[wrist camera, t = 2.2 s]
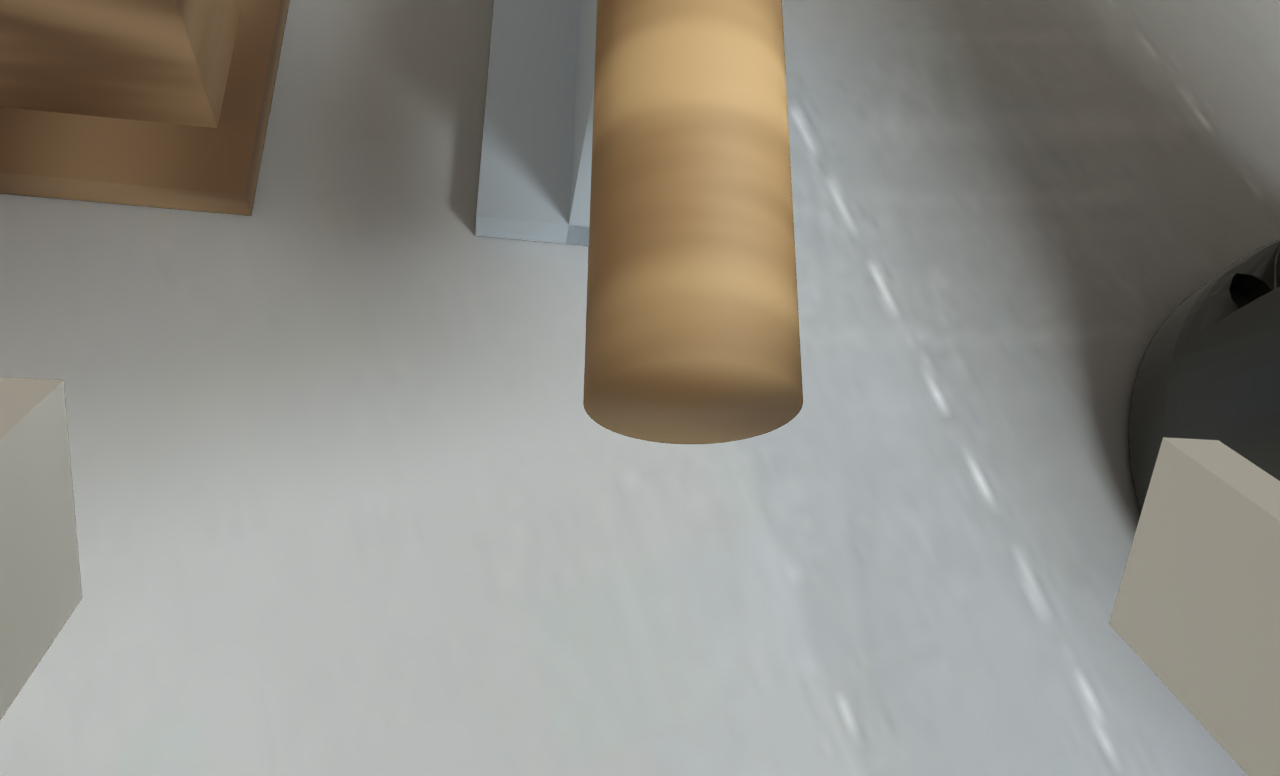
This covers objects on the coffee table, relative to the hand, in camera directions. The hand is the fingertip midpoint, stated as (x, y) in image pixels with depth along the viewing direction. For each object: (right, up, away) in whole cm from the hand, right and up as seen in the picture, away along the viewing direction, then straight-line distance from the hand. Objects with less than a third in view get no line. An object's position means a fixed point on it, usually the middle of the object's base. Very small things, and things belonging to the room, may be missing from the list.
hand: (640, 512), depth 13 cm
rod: (+1, +11, +11) cm, 15 cm away
